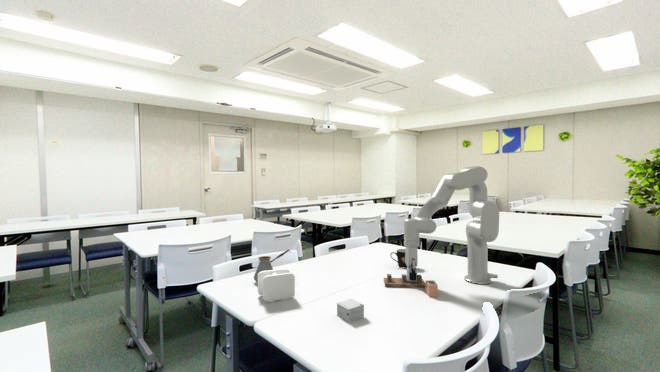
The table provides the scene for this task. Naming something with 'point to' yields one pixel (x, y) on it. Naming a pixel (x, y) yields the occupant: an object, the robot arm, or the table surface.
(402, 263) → the coffee mug
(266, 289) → the cable organizer
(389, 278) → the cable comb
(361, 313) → the small box
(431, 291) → the terracotta plug
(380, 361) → the table surface
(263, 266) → the coffee pot
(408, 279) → the slate plug
